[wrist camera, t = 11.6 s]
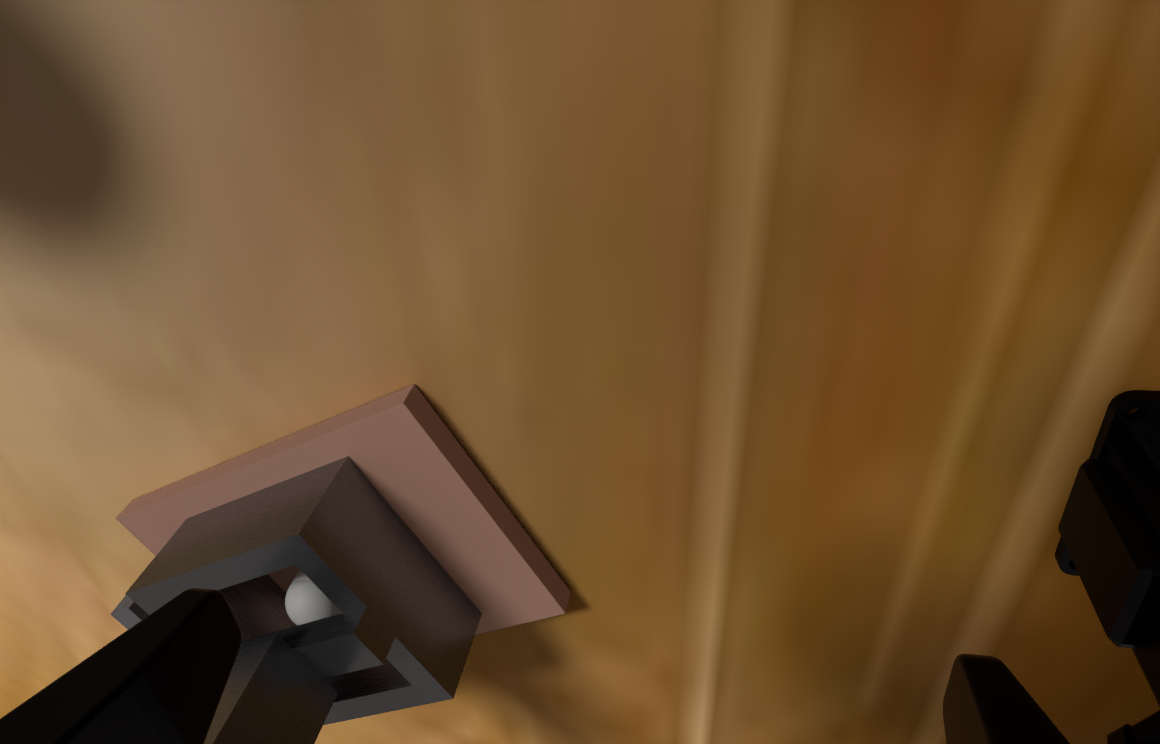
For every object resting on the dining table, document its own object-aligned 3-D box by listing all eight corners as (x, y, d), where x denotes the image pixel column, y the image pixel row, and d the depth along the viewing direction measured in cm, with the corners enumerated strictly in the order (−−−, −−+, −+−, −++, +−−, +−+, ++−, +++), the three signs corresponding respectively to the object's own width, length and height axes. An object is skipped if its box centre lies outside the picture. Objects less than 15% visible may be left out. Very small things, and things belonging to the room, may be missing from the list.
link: (348, 455, 25) (65, 896, 15) (482, 613, 29) (329, 1064, 18) (186, 518, 29) (-141, 917, 18) (324, 653, 32) (116, 1057, 21)
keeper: (414, 384, 25) (363, 467, 21) (570, 591, 29) (548, 687, 26) (132, 499, 30) (58, 579, 27) (297, 659, 34) (251, 745, 31)
